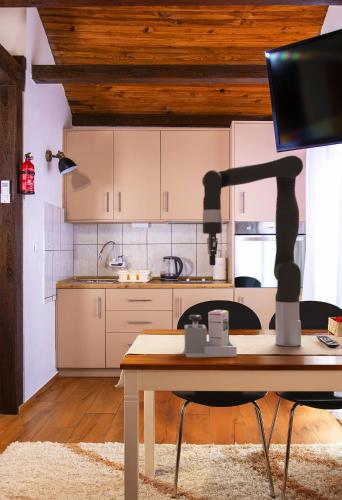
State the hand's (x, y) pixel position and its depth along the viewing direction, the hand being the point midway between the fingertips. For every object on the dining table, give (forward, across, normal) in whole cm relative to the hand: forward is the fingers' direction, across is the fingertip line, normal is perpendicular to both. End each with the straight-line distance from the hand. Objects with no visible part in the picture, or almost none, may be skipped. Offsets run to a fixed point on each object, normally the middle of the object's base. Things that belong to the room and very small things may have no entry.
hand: (212, 265), depth 188 cm
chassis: (+32, -14, +3) cm, 35 cm away
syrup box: (+31, -14, 0) cm, 34 cm away
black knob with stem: (+26, -14, +8) cm, 31 cm away
